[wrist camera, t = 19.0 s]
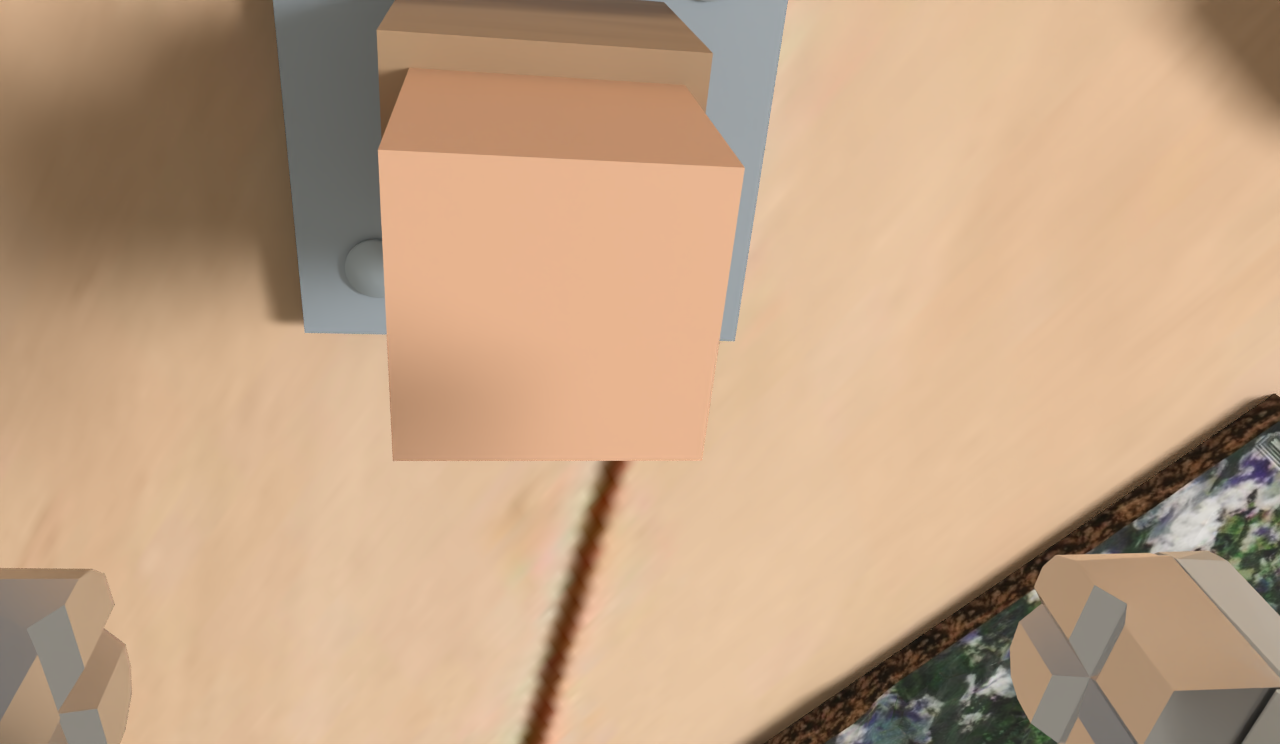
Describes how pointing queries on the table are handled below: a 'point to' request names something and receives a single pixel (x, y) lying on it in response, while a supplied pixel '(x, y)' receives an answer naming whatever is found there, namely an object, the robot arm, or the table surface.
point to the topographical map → (984, 629)
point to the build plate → (351, 134)
